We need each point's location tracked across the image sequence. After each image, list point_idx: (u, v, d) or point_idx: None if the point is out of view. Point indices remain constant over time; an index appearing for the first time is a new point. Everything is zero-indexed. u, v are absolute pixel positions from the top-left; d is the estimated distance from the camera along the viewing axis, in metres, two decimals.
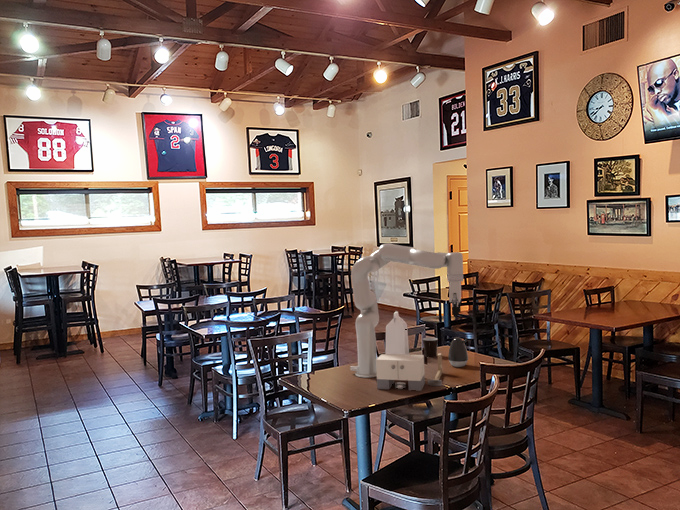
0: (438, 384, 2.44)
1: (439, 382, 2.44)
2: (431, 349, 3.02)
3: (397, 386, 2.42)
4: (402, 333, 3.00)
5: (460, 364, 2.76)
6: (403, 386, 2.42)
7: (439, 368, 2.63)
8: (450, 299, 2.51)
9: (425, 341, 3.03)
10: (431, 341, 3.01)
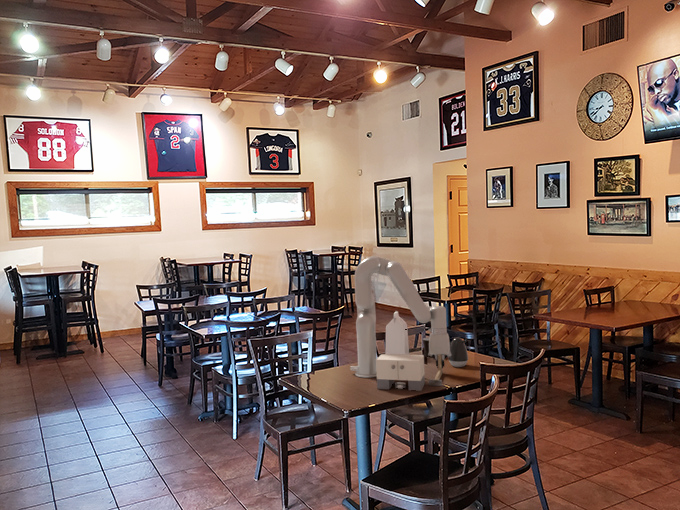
0: (438, 384, 2.44)
1: (439, 382, 2.44)
2: None
3: (397, 386, 2.42)
4: (402, 333, 3.00)
5: (460, 364, 2.76)
6: (403, 386, 2.42)
7: (439, 368, 2.63)
8: (449, 351, 2.61)
9: (425, 341, 3.03)
10: None
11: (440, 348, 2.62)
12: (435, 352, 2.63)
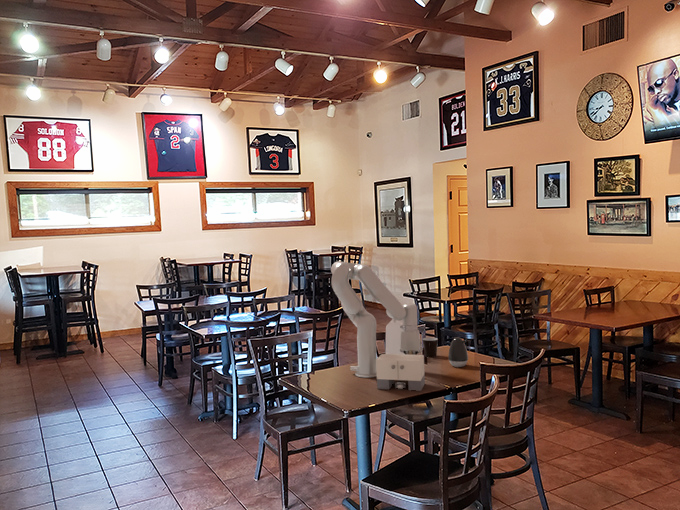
0: None
1: None
2: (431, 349, 3.02)
3: (397, 386, 2.42)
4: None
5: (460, 364, 2.76)
6: (403, 386, 2.42)
7: None
8: (419, 347, 2.70)
9: (425, 341, 3.03)
10: (431, 341, 3.01)
11: (411, 344, 2.70)
12: (406, 348, 2.71)
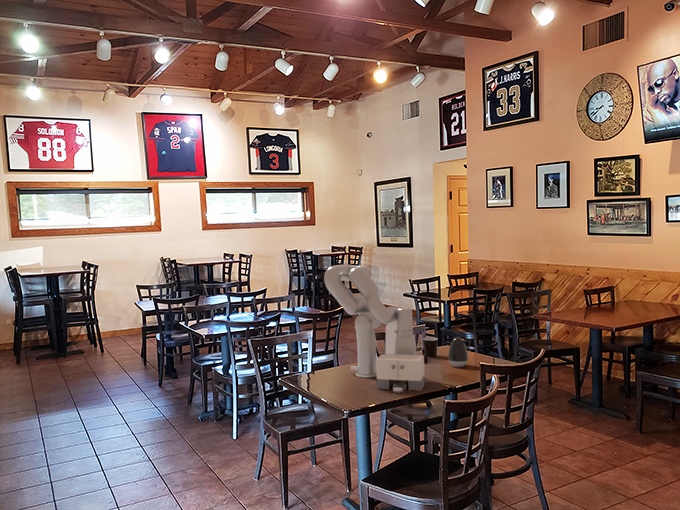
0: (403, 388, 2.40)
1: (404, 386, 2.40)
2: (431, 349, 3.02)
3: (395, 390, 2.36)
4: None
5: (460, 364, 2.76)
6: (401, 389, 2.36)
7: None
8: (415, 353, 2.56)
9: (425, 341, 3.03)
10: (431, 341, 3.01)
11: (406, 350, 2.56)
12: None
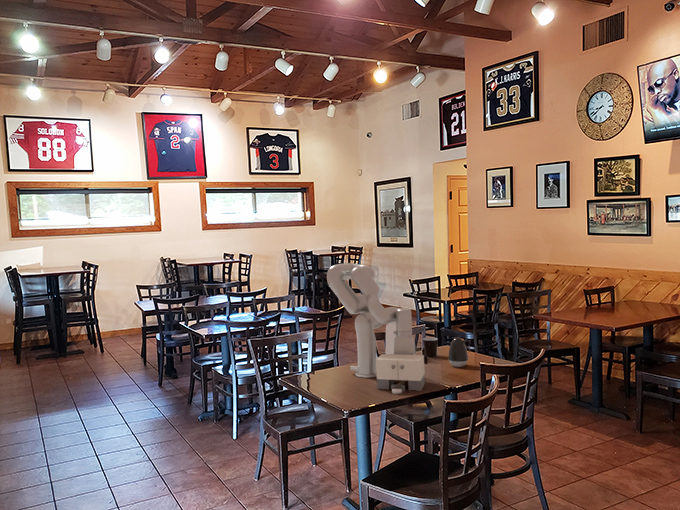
0: None
1: (402, 387, 2.38)
2: (431, 349, 3.02)
3: (394, 391, 2.34)
4: None
5: (460, 364, 2.76)
6: (400, 391, 2.34)
7: None
8: None
9: (425, 341, 3.03)
10: (431, 341, 3.01)
11: (405, 351, 2.54)
12: None
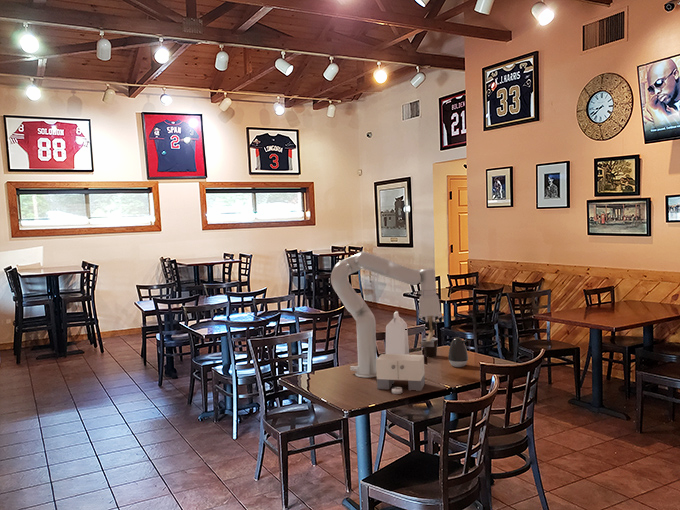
0: (431, 345, 2.48)
1: (431, 343, 2.48)
2: (431, 349, 3.02)
3: (395, 391, 2.34)
4: (402, 333, 3.00)
5: (460, 364, 2.76)
6: (401, 391, 2.34)
7: (430, 329, 2.67)
8: (439, 312, 2.64)
9: None
10: None
11: (430, 310, 2.64)
12: (425, 314, 2.65)
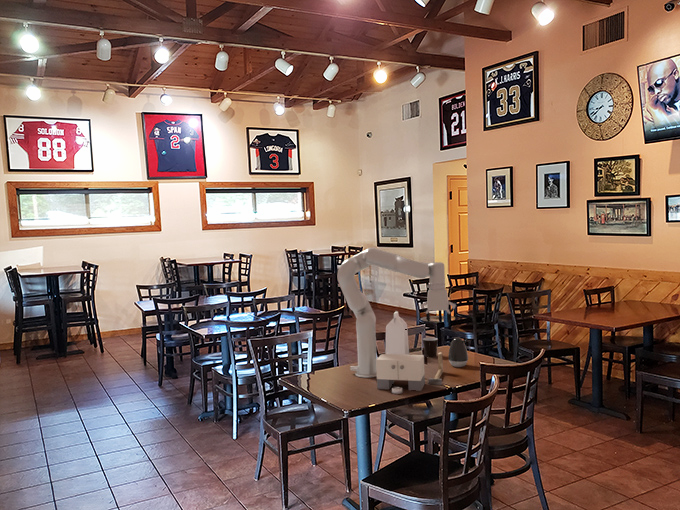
0: (438, 383, 2.46)
1: (439, 381, 2.46)
2: (431, 349, 3.02)
3: (398, 391, 2.34)
4: (402, 333, 3.00)
5: (460, 364, 2.76)
6: (402, 390, 2.36)
7: (439, 367, 2.65)
8: (447, 307, 2.61)
9: (425, 341, 3.03)
10: (431, 341, 3.01)
11: (438, 304, 2.61)
12: (433, 308, 2.62)
